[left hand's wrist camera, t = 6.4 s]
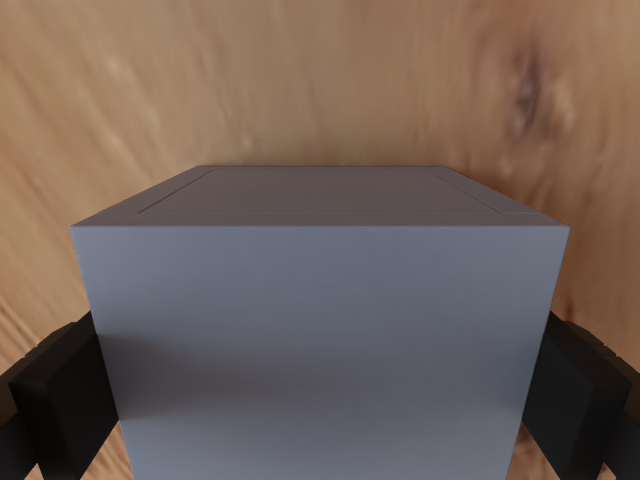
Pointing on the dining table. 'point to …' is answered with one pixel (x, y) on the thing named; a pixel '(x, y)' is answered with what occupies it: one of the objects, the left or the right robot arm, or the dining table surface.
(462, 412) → the cabinet
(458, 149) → the dining table surface
